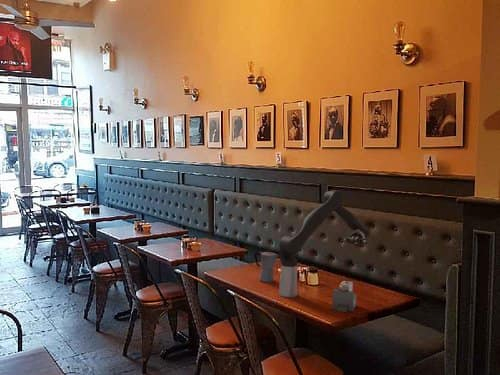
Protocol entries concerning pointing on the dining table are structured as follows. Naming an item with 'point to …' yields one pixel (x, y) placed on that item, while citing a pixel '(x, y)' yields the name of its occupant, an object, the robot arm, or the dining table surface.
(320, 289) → the dining table surface
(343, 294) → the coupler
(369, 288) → the dining table surface
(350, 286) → the block
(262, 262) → the moka pot
